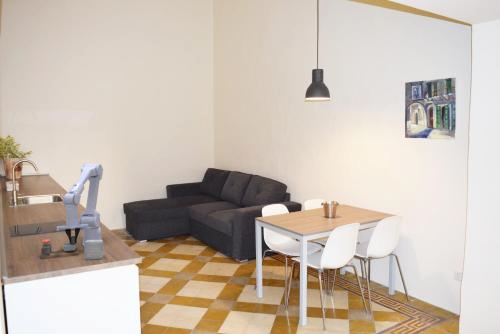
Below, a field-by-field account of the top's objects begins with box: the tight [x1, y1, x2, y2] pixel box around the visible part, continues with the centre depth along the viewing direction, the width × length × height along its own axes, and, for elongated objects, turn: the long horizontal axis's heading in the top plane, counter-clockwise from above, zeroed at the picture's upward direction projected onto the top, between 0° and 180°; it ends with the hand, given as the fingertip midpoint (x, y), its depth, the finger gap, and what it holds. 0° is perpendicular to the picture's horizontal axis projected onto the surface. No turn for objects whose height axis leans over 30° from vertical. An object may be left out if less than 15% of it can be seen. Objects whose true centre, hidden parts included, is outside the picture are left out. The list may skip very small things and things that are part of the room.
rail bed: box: [39, 241, 80, 260], centre depth 204 cm, size 17×10×5 cm, turn 111°
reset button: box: [41, 238, 51, 244], centre depth 201 cm, size 4×4×1 cm
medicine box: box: [83, 239, 105, 260], centre depth 198 cm, size 8×4×9 cm, turn 92°
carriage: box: [63, 235, 77, 251], centre depth 205 cm, size 5×7×6 cm
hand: (73, 243), depth 206 cm, fingers closed on carriage, 2 cm apart
